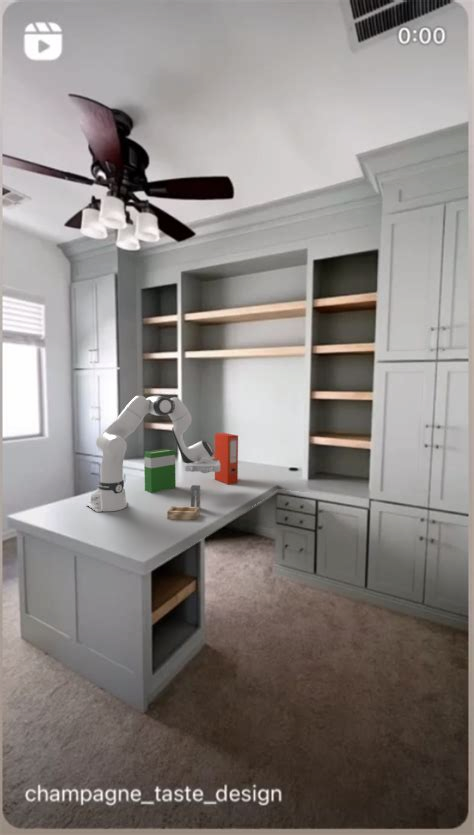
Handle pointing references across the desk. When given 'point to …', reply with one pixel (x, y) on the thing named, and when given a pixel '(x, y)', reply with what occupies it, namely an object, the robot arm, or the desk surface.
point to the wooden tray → (183, 512)
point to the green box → (159, 470)
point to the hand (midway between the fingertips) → (200, 470)
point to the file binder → (227, 457)
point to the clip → (197, 489)
